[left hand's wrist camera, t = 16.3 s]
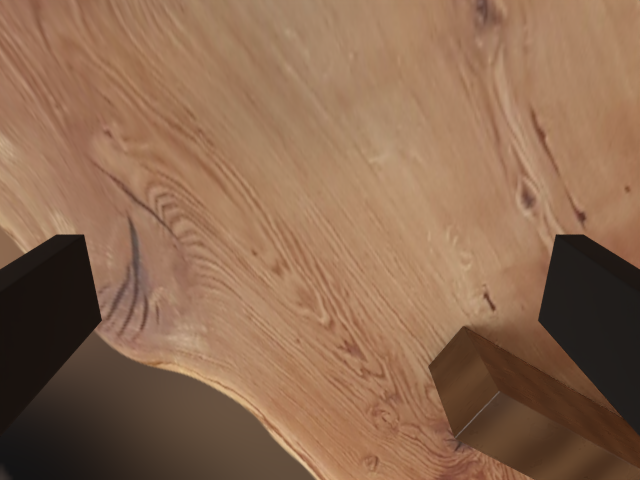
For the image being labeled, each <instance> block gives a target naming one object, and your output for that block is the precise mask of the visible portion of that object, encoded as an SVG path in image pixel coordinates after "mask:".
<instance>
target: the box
mask: <svg viewBox="0 0 640 480" xmlns="http://www.w3.org/2000/svg"><path fill="white" fill-rule="evenodd" d="M429 369H430V372H431V375H432V378H433V380H434V383H435V386H436V389H437V391H438V394H439V397H440V399H441V402H442V405H443V408H444V410H445V413H446V416H447V419H448V421H449V424H450V427H451V430H452V432H453V435H454V438H455V439H457V440H459V441H461V442H463V443H465V444H467V445H469V446H471V447H473V448H474V449H476V450H478V451H480V452H482V453H484V454H486V455H488V456H490V457H492V458H494V459H496V460H498V461H500V462H502V463H504V464H505V465H507V466H509V467H511V468H513V469H515V470H517V471H519V472H521V473H523V474H525V475H527V476H529V477H531V478H533V479H534V480H640V436H639V435H638V434H637V433H636V432H635V431H634V429H633V428H632V427H631V426H630V425H629V424H628V423H627V421H625V420H624V419H622V418H620V417H619V416H617V415H615V414H613V413H612V412H610V411H608V410H607V409H605V408H603V407H601V406H600V405H598V404H596V403H595V402H593V401H591V400H589V399H588V398H586V397H584V396H582V395H581V394H579V393H577V392H576V391H574V390H572V389H570V388H569V387H567V386H565V385H564V384H562V383H560V382H558V381H557V380H555V379H553V378H551V377H550V376H548V375H546V374H545V373H543V372H541V371H539V370H538V369H536V368H534V367H533V366H531V365H529V364H527V363H526V362H524V361H522V360H521V359H519V358H517V357H515V356H514V355H512V354H510V353H508V352H507V351H505V350H503V349H502V348H500V347H498V346H496V345H495V344H493V343H491V342H490V341H488V340H486V339H484V338H483V337H481V336H479V335H477V334H476V333H474V332H472V331H471V330H469V329H467V328H465V327H464V326H463V327H462V328H461V329H460V331H459V332H458V333H457V334H456V335H455V336H454V338H453V339H452V340H451V341H450V342H449V343H448V345H447V346H446V347H445V348H444V349H443V350H442V351H441V353H440V354H439V355H438V356H437V357H436V358H435V360H434V361H433V362H432V363H431V364H430V365H429Z"/></svg>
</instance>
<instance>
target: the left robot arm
mask: <svg viewBox="0 0 640 480" xmlns="http://www.w3.org/2000/svg"><path fill="white" fill-rule="evenodd" d="M101 321H102V319H101V314H100V309H99V304H98V299H97V295H96V290H95V285H94V280H93V275H92V271H91V266H90V261H89V256H88V251H87V246H86V242H85V237H84V235H55V236H53V237H52V238H50V239H49V240H47V241H45V242H44V243H42V244H41V245H39V246H37V247H36V248H34V249H32V250H31V251H29V252H28V253H26V254H24V255H23V256H21V257H20V258H18V259H16V260H15V261H13V262H11V263H10V264H8V265H7V266H5V267H3V268H2V269H0V436H1V435H2V434H3V433H4V432H5V431H6V429H7V428H8V427H9V426H10V425H11V424H12V423H13V421H14V420H15V419H16V418H17V417H18V416H19V415H20V413H21V412H22V411H23V410H24V409H25V408H26V407H27V405H28V404H29V403H30V402H31V401H32V400H33V399H34V397H35V396H36V395H37V394H38V393H39V392H40V391H41V389H42V388H43V387H44V386H45V385H46V384H47V383H48V381H49V380H50V379H51V378H52V377H53V376H54V375H55V373H56V372H57V371H58V370H59V369H60V368H61V367H62V365H63V364H64V363H65V362H66V361H67V360H68V359H69V357H70V356H71V355H72V354H73V353H74V352H75V351H76V349H77V348H78V347H79V346H80V345H81V344H82V343H83V341H84V340H85V339H86V338H87V337H88V336H89V335H90V333H91V332H92V331H93V330H94V329H95V328H96V327H97V325H98V324H99V323H100V322H101ZM538 321H539V322H540V323H541V324H542V325H543V327H544V328H545V329H546V330H547V331H548V332H549V333H550V335H551V336H552V337H553V338H554V339H555V340H556V341H557V343H558V344H559V345H560V346H561V347H562V348H563V349H564V351H565V352H566V353H567V354H568V355H569V356H570V357H571V359H572V360H573V361H574V362H575V363H576V364H577V365H578V367H579V368H580V369H581V370H582V371H583V372H584V373H585V375H586V376H587V377H588V378H589V379H590V380H591V381H592V383H593V384H594V385H595V386H596V387H597V388H598V389H599V391H600V392H601V393H602V394H603V395H604V396H605V397H606V399H607V400H608V401H609V402H610V403H611V404H612V405H613V407H614V408H615V409H616V410H617V411H618V412H619V413H620V415H621V416H622V417H623V418H624V419H625V420H626V421H627V423H628V424H629V425H630V426H631V427H632V428H633V429H634V431H635V432H636V433H637V434H638V435H639V436H640V269H638V268H637V267H635V266H633V265H632V264H630V263H629V262H627V261H625V260H624V259H622V258H620V257H619V256H617V255H616V254H614V253H612V252H611V251H609V250H608V249H606V248H604V247H603V246H601V245H599V244H598V243H596V242H595V241H593V240H591V239H590V238H588V237H587V236H585V235H556V237H555V242H554V246H553V251H552V256H551V261H550V266H549V271H548V275H547V280H546V285H545V290H544V295H543V299H542V304H541V309H540V314H539V319H538Z"/></svg>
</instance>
